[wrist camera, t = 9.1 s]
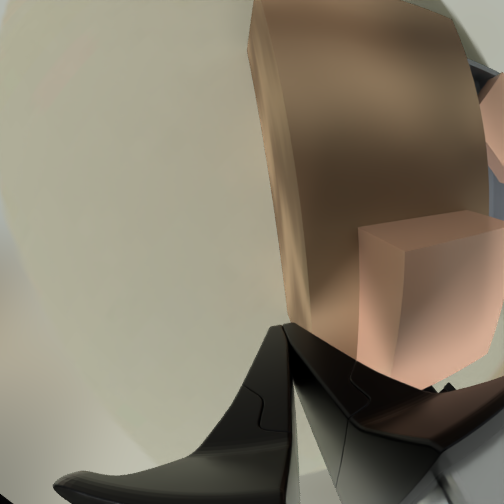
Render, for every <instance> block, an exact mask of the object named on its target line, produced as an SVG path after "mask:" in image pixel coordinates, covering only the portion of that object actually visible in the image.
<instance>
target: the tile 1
mask: <svg viewBox="0 0 504 504" xmlns="http://www.w3.org/2000/svg"><path fill="white" fill-rule="evenodd" d="M358 240H359V276H360V293H359V329H358V346H357V361H359V362H361V363H362V364H364V365H366V366H368V367H370V368H371V369H373V370H375V371H377V372H379V373H381V374H384V375H386V376H388V377H390V378H393V379H395V380H398V381H400V382H403V383H405V384H408V385H410V386H413V387H415V388H418V389H420V390H422V389H425V388H427V387H429V386H431V385H433V384H435V383H437V382H439V381H441V380H443V379H445V378H447V377H448V376H450V375H452V374H454V373H456V372H458V371H459V370H461V369H463V368H465V367H466V366H468V365H470V364H471V363H473V362H475V361H476V360H478V359H480V358H481V357H483V356H484V355H486V354H487V353H488V350H489V347H490V345H491V342H492V339H493V336H494V333H495V329H496V326H497V323H498V319H499V316H500V312H501V308H502V304H503V300H504V221H503V220H500V219H496V218H493V217H490V216H486V215H483V214H480V213H476V212H472V211H469V210H464V211H457V212H451V213H444V214H438V215H431V216H425V217H419V218H412V219H406V220H400V221H393V222H387V223H381V224H375V225H369V226H362V227H358Z"/></svg>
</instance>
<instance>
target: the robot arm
mask: <svg viewBox="0 0 504 504" xmlns="http://www.w3.org/2000/svg"><path fill="white" fill-rule="evenodd" d="M293 383H294V386H295V389H296V392H297V394H298V397H299V399H300V402H301V404H302V407H303V409H304V412H305V414H306V417H307V419H308V422H309V424H310V427H311V429H312V432H313V434H314V437H315V439H316V442H317V444H318V447H319V449H320V452H321V454H322V457H323V459H324V462H325V464H326V466H327V469H328V471H329V473H330V476H331V479H332V481H333V484H334V486H335V488H336V491H337V493H338V496H339V498H340V501H341V503H342V504H504V376H502V377H500V378H497V379H494V380H491V381H488V382H484V383H481V384H478V385H474V386H470V387H467V388H463V389H459V390H456V389H455V388H454V387H453V386H452V385H451V384H450V383H449V382H448V383H447V384H446V385H445V386H444V389H442V390H441V391H440V392H439V393H438V392H437V391H436V390H435V389H434V387H433V386H432V385H431V386H429V387H427V388H425V389H422V390H420V389H418V388H415V387H413V386H410V385H408V384H405V383H403V382H400V381H398V380H395V379H393V378H390V377H388V376H386V375H384V374H381V373H379V372H377V371H375V370H373V369H371V368H370V367H368V366H366V365H364V364H362V363H361V362H359V361H356V360H355V359H354V358H352V357H350V356H349V355H347V354H345V353H344V352H342V351H340V350H339V349H337V348H335V347H334V346H332V345H330V344H329V343H327V342H325V341H324V340H322V339H320V338H319V337H317V336H316V335H314V334H312V333H311V332H309V331H307V330H306V329H304V328H303V327H301V326H299V325H298V324H296V323H294V322H292V323H287V324H283V326H282V325H277V326H271V327H270V328H269V330H268V332H267V334H266V336H265V338H264V341H263V343H262V345H261V347H260V349H259V351H258V353H257V355H256V357H255V359H254V361H253V363H252V366H251V368H250V370H249V372H248V374H247V376H246V378H245V380H244V382H243V384H242V386H241V387H240V389H239V391H238V393H237V395H236V397H235V399H234V401H233V402H232V404H231V406H230V407H229V409H228V410H227V411H226V413H225V414H224V416H223V417H222V418H221V420H220V421H219V422H218V424H217V425H216V426H215V428H214V429H213V430H212V432H211V433H210V434H209V435H208V437H207V438H206V439H205V440H204V442H203V443H202V444H201V445H200V447H199V448H198V449H197V450H195V451H194V452H193V453H192V454H190V455H189V456H187V457H185V458H182V459H179V460H177V461H174V462H171V463H168V464H165V465H161V466H158V467H155V468H152V469H148V470H145V471H141V472H138V473H133V474H128V475H120V476H110V475H103V474H98V473H93V472H89V471H78V472H74V473H71V474H67V475H65V476H63V477H61V478H59V479H58V480H57V481H56V482H55V483H54V484H53V488H54V490H55V491H56V492H57V493H58V494H59V495H60V496H61V497H63V498H64V499H65V500H67V501H69V502H70V503H71V504H300V487H299V463H298V444H297V427H296V412H295V398H294V386H293ZM0 504H13V503H12V502H10V501H9V500H8V499H6V498H5V497H4V496H2V495H1V494H0Z"/></svg>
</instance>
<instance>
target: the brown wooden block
mask: <svg viewBox="0 0 504 504" xmlns="http://www.w3.org/2000/svg"><path fill="white" fill-rule="evenodd" d="M247 52H248V58H249V63H250V68H251V73H252V78H253V84H254V89H255V95H256V100H257V106H258V112H259V117H260V123H261V129H262V135H263V141H264V147H265V153H266V159H267V166H268V172H269V178H270V185H271V191H272V198H273V205H274V212H275V219H276V226H277V233H278V240H279V248H280V255H281V263H282V271H283V278H284V286H285V295H286V303H287V312H288V316H289V318H290V321H291V323H292V322H294V323H296V324H298V325H299V326H301V327H303V328H304V329H306V330H307V331H309V332H311V333H312V334H314V335H316V336H317V337H319V338H320V339H322V340H324V341H325V342H327V343H329V344H330V345H332V346H334V347H335V348H337V349H339V350H340V351H342V352H344V353H345V354H347V355H349V356H350V357H352V358H354V359H355V360H356V361H357V346H358V329H359V293H360V276H359V240H358V227H362V226H369V225H375V224H381V223H387V222H393V221H400V220H406V219H412V218H419V217H425V216H431V215H438V214H444V213H451V212H457V211H464V210H469V211H472V212H476V213H480V214H483V215H486V216H489V174H488V160H487V149H486V141H485V133H484V127H483V121H482V115H481V110H480V105H479V100H478V96H477V92H476V88H475V84H474V80H473V76H472V73H471V70H470V66H469V63H468V60H467V57H466V54H465V51H464V48H463V46H462V43H461V40H460V38H459V35H458V33H457V30H456V28H455V25H454V23H453V21H452V19H450V18H447V17H445V16H443V15H440V14H438V13H435V12H433V11H430V10H428V9H425V8H422V7H419V6H416V5H413V4H410V3H407V2H404V1H401V0H254V3H253V10H252V17H251V24H250V31H249V39H248V47H247Z"/></svg>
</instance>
